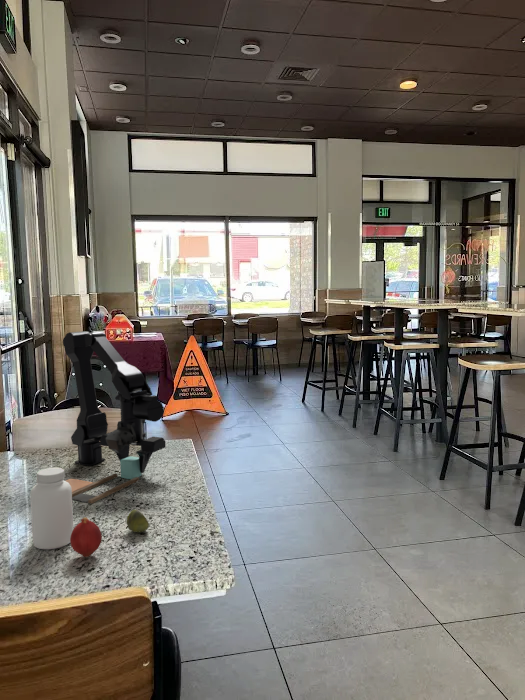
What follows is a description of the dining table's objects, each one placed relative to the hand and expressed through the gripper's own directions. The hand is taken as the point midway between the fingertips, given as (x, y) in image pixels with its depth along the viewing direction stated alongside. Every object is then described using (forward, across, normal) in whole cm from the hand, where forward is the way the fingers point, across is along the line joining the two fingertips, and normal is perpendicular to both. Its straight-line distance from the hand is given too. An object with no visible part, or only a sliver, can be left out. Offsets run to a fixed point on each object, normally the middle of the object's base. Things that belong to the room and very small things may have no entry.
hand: (133, 471), depth 156 cm
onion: (+1, +23, -42) cm, 48 cm away
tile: (+1, -8, -15) cm, 17 cm away
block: (+1, 0, -1) cm, 1 cm away
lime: (+1, +25, -29) cm, 38 cm away
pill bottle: (+1, +12, -40) cm, 42 cm away
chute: (+1, 0, -12) cm, 12 cm away
